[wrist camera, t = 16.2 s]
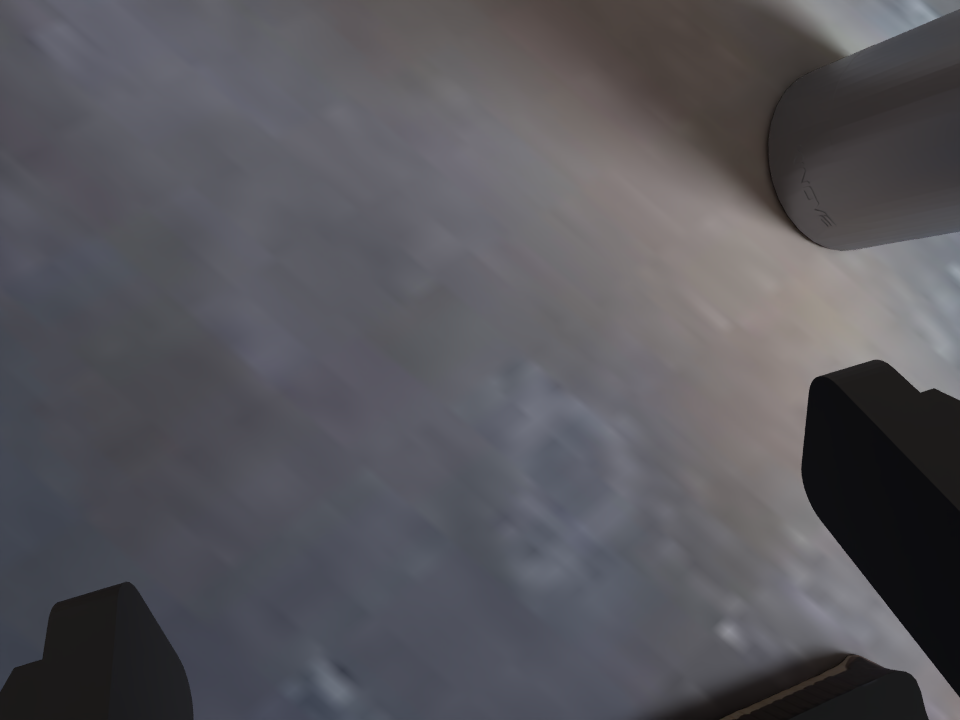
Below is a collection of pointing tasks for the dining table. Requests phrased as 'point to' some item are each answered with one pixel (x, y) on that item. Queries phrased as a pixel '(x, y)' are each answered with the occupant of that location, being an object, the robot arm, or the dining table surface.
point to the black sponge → (844, 696)
